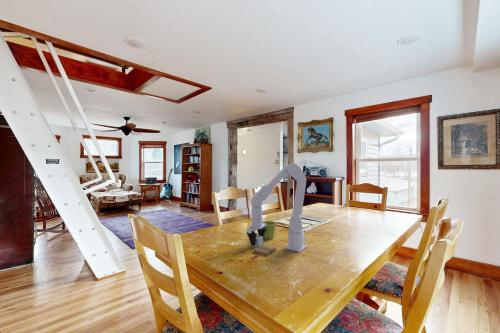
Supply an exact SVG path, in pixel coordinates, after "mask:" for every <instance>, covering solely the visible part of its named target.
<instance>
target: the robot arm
mask: <svg viewBox="0 0 500 333" xmlns="http://www.w3.org/2000/svg"><path fill="white" fill-rule="evenodd" d="M289 176H290V177H293V179H294V180H295V181H296V187H295V194H294V200H293V207H292V214H291V217H290V218H289V222H288V223H289V225H288V226H289V229H288V235H287V236H288V237H287V238H288V239H287V240H288V242H287V244H288V245H287V246H286V247H285V249H286V250H289V251H293V252H298V253H300V252H301V251H303V250H304V249H306V247H307V245H306V234H305V231H304V230H303V224H302V213H303V208H304V207H303V206H304V201H305V193H306V188H307V187H306V186H307V177H306V176H305V174H304V172H303V169H302V168H301V167H300V166H299V165H298V164H297V163H294V162H290V163H288V164H287V166H285V167H283V169H281V170H280V171H279V172H278V173H277V174H276V175H275V176H274V178H273V179H272V180H271V181H270V182H269V183H268V184H267V183H265V184H263V185H261V186H260V189H259V190H258V191H257V192H255V194H254V195H253V196H252V197H251V200H250V203H251V224H250V225H249V227H248V228H247V231H246V235H247V236H248V239H249V243H250V246H251V245H252V246H255V241H256V236H257V235H259V236H263V239H265V238H264V235H265V232H266V230H267V228H264V227H266V223H262V222H263V205H262V204H263V202H265V201H266V200H267V199H268V197H269V196H271V195H272V194H273V192H274V190H273V189H274V187H276V186H277V185H278V184H279V183H280V182H281V180H283V179H284V178H287V177H289ZM256 231H257V232H256Z"/></svg>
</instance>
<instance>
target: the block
mask: <svg viewBox="0 0 500 333" xmlns="http://www.w3.org/2000/svg"><path fill="white" fill-rule="evenodd" d="M261 245H264V238H263V236H259V235H258V234H257V236H256V241H255V246H252V245H251V244H250V247H252V248H254V249H255V248H257V247H259V246H261Z"/></svg>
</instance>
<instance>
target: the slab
mask: <svg viewBox="0 0 500 333" xmlns="http://www.w3.org/2000/svg"><path fill="white" fill-rule="evenodd" d="M275 252H277V248H276V247H274V246H269V245H266V244H263V245H261V246H259V247H257V248H255V247H254V248H253V253H255V254H259V255H261V256H265V257H268V256H270V255H272V254H273V253H275Z"/></svg>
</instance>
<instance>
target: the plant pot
mask: <svg viewBox="0 0 500 333" xmlns="http://www.w3.org/2000/svg"><path fill="white" fill-rule="evenodd" d="M262 223H266V227H264V228H267V230H266V232H265V235H264V238H263V239H265V240H273V239H274V237H275V231H276V226H277V222H276V221H272V220H265V221H264V220H263V221H262Z"/></svg>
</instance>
